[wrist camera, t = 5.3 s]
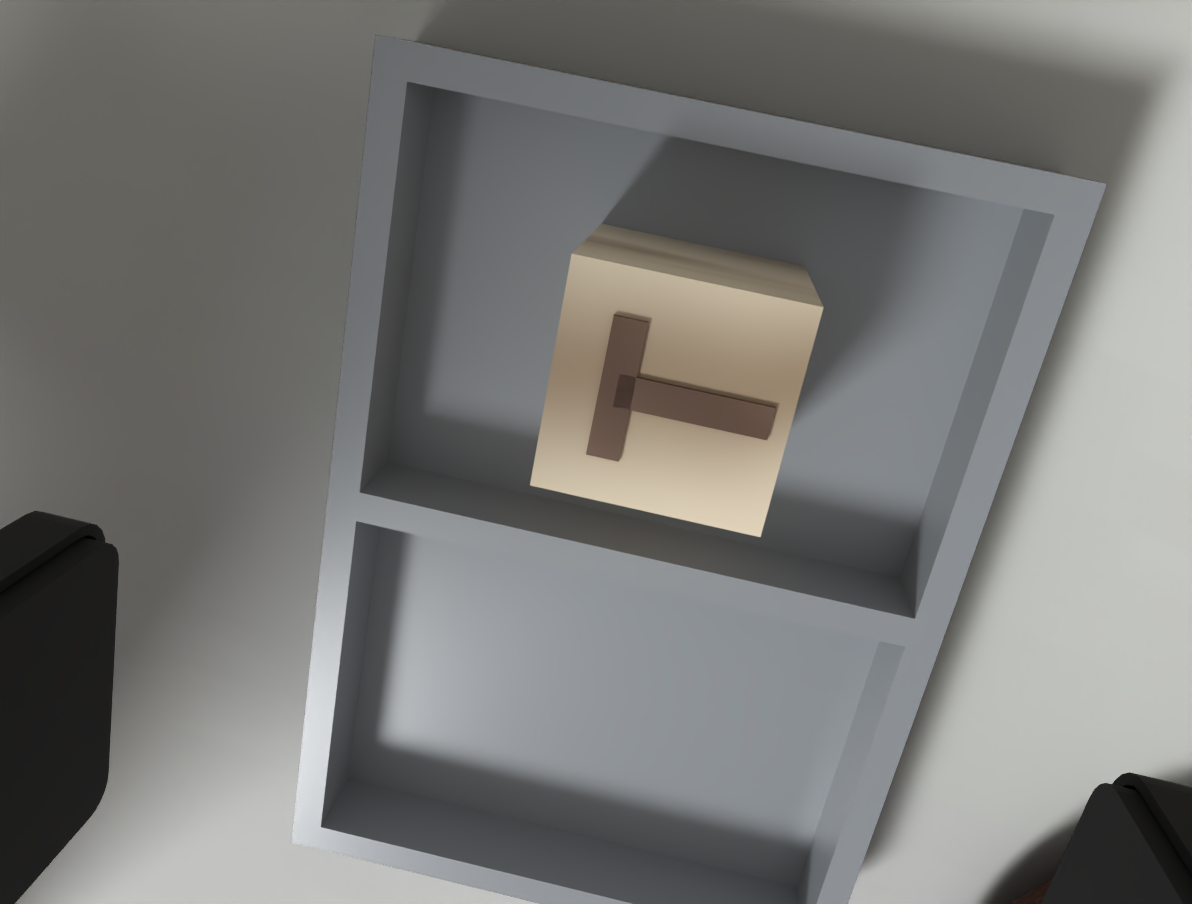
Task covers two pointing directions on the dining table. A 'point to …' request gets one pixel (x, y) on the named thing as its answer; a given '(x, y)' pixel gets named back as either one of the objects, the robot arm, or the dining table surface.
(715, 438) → the letter block
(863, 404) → the tray
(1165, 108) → the dining table surface
